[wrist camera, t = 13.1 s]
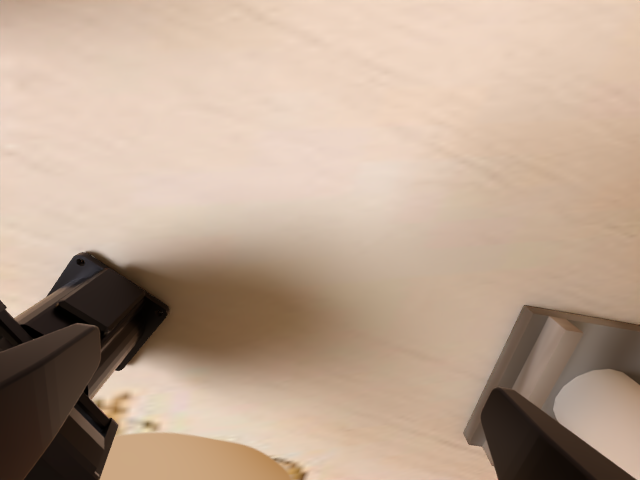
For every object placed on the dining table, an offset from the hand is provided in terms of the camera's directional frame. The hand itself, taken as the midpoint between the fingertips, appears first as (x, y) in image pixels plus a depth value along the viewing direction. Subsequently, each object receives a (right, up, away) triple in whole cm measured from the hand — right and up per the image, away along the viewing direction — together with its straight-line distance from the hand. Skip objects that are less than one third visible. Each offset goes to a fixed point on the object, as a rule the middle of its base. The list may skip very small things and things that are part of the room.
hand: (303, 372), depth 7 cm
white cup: (+20, -9, +17) cm, 28 cm away
